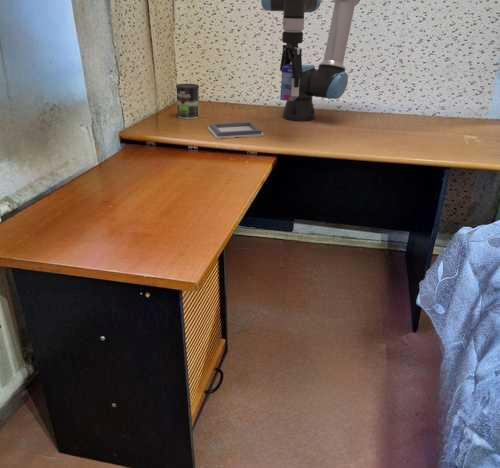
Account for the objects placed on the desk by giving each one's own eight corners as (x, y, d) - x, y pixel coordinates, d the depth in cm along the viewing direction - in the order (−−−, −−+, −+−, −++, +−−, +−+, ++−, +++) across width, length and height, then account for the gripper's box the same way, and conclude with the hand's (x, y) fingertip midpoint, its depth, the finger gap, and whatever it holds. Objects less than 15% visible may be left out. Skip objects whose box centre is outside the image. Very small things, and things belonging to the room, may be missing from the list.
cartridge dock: (252, 126, 208) (252, 121, 207) (264, 136, 195) (264, 130, 194) (207, 129, 203) (207, 123, 202) (215, 139, 189) (215, 133, 188)
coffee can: (193, 120, 217) (192, 88, 210) (173, 117, 220) (171, 86, 214) (203, 115, 225) (202, 84, 219) (184, 113, 229) (183, 82, 222)
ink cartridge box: (294, 101, 180) (296, 61, 173) (279, 100, 181) (281, 60, 174) (298, 96, 188) (301, 57, 181) (284, 95, 189) (286, 57, 183)
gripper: (273, 28, 183) (271, 88, 193) (294, 33, 163) (290, 99, 173) (291, 28, 184) (288, 87, 194) (314, 33, 165) (310, 98, 174)
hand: (289, 93), depth 184 cm, fingers closed on ink cartridge box, 11 cm apart
